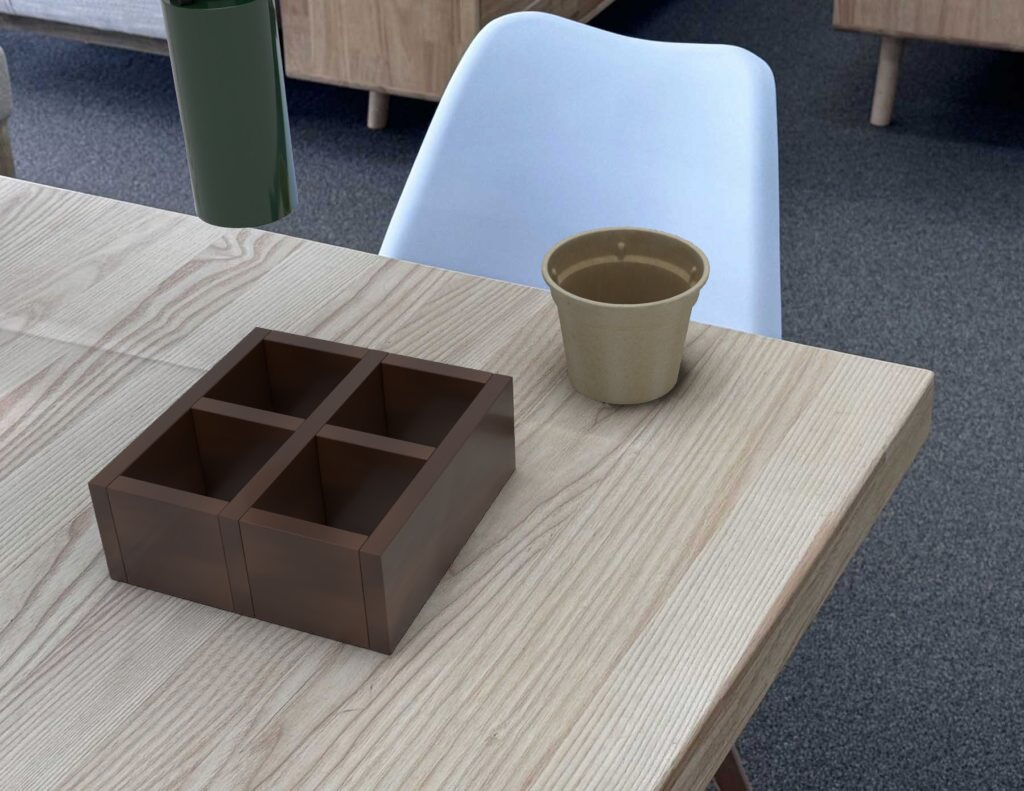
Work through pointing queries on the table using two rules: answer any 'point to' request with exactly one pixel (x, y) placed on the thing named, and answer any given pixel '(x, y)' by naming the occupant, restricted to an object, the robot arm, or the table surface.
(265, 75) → the bottle
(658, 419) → the table surface
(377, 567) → the box
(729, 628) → the table surface
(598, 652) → the table surface
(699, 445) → the table surface
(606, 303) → the flower pot
